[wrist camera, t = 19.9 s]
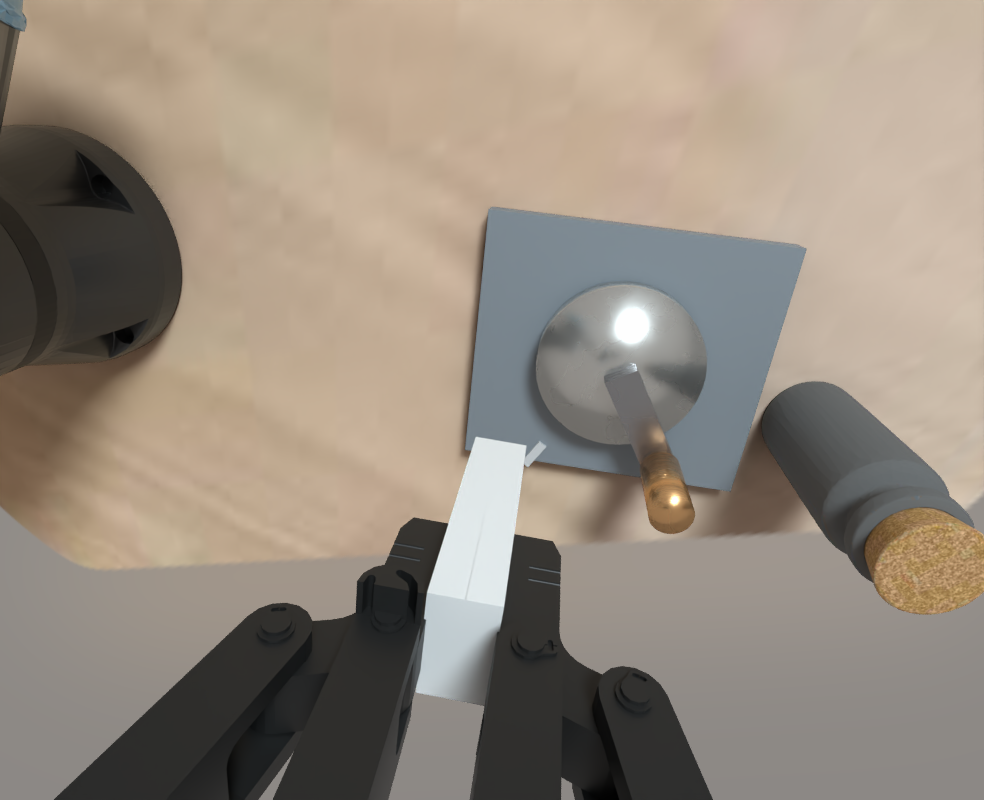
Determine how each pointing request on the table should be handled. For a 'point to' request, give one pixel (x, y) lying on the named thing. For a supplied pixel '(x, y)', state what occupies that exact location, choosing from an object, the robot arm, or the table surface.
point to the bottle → (876, 499)
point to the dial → (627, 381)
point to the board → (638, 258)
